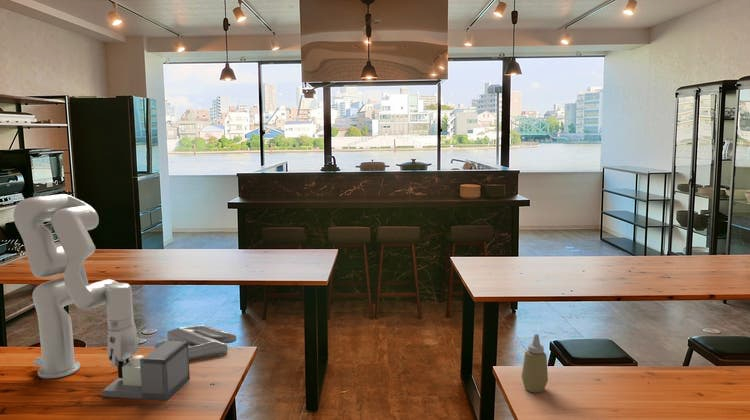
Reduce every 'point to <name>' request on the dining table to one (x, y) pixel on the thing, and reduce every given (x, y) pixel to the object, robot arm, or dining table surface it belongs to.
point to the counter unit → (157, 374)
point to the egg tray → (132, 372)
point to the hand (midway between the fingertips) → (124, 377)
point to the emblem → (201, 340)
